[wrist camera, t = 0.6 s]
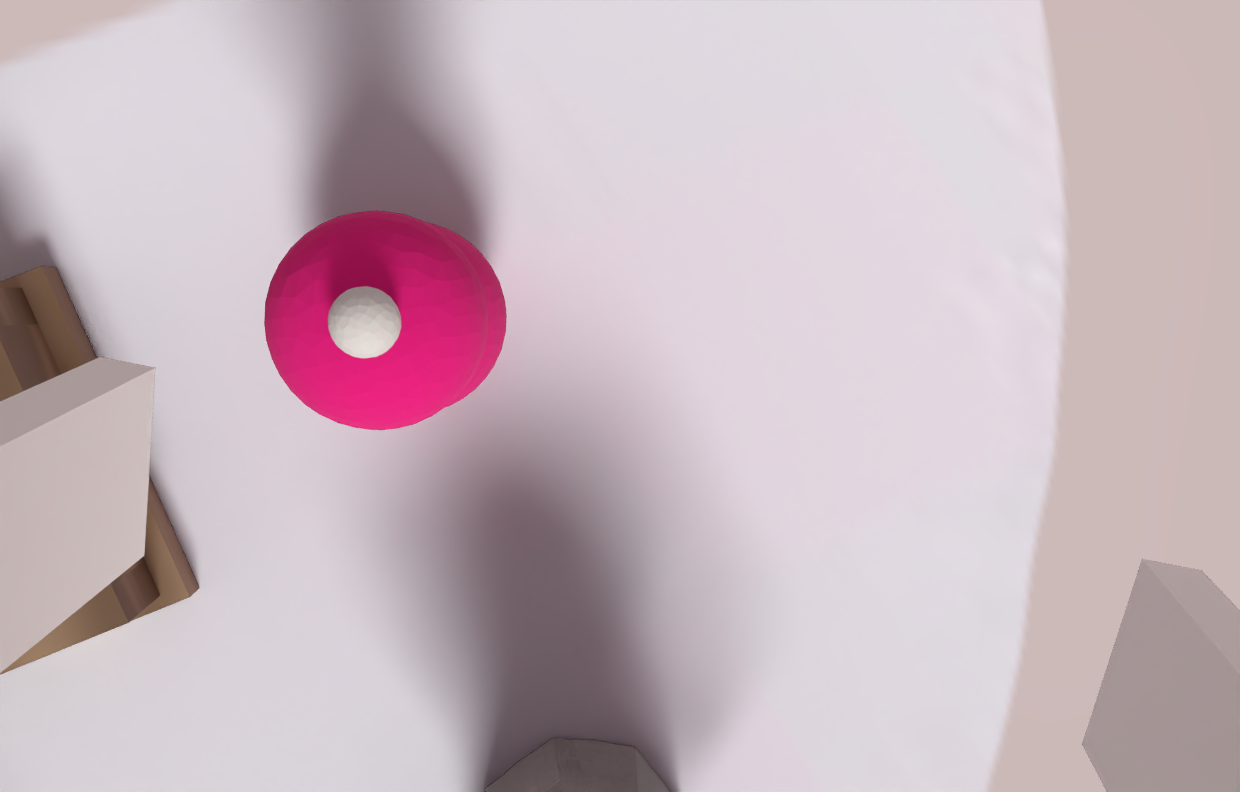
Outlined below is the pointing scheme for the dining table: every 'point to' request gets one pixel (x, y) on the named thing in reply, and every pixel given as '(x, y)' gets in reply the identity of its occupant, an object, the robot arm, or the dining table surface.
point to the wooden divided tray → (56, 343)
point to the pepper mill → (383, 319)
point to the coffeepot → (580, 769)
